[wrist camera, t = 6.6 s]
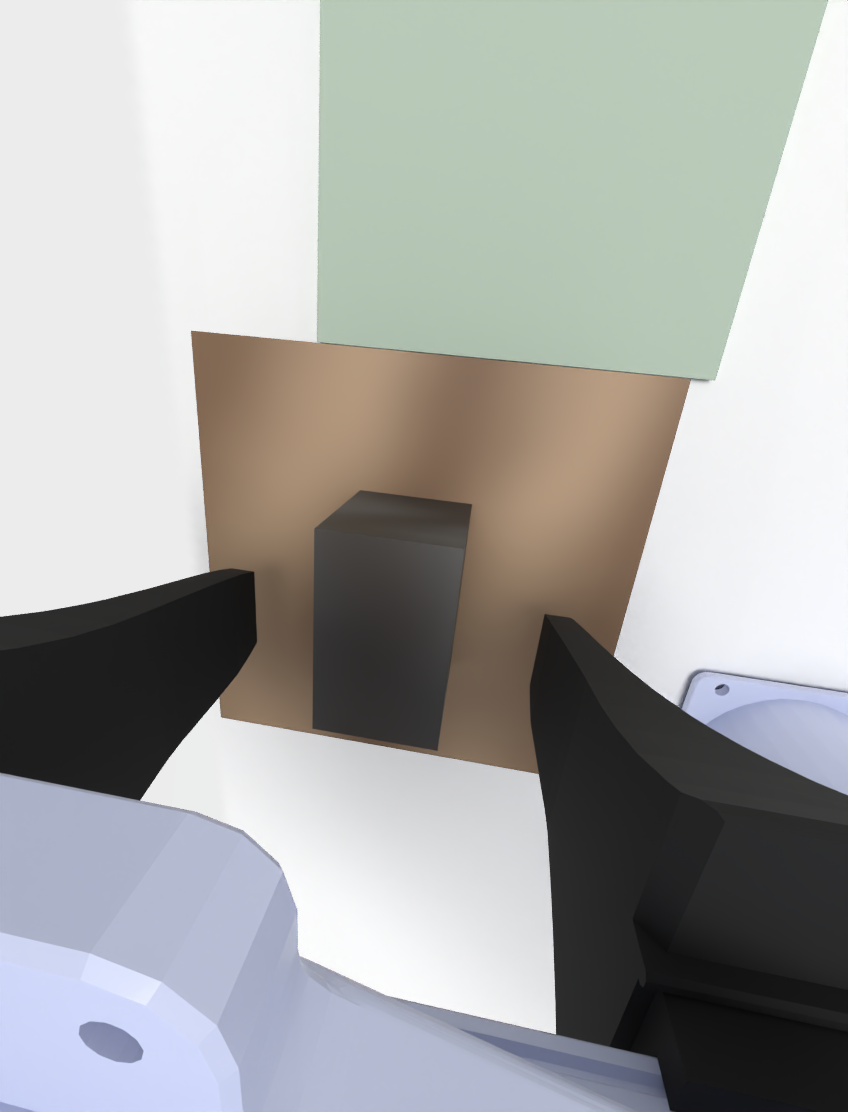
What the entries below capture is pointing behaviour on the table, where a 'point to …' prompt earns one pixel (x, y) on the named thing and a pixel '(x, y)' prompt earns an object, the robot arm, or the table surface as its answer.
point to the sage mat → (550, 174)
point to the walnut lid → (421, 529)
